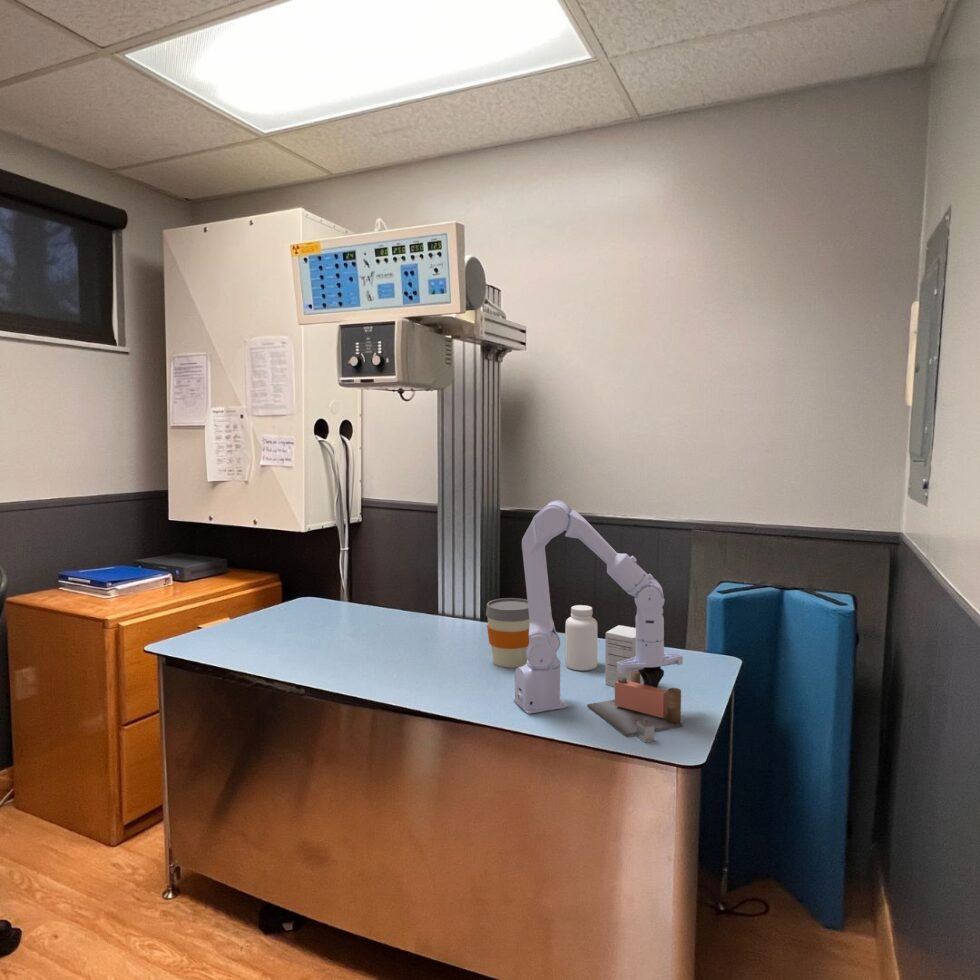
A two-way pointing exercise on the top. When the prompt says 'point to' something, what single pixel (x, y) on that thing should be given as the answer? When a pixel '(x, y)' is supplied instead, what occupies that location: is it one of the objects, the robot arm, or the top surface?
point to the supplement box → (619, 652)
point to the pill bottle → (581, 639)
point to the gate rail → (641, 697)
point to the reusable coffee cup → (508, 631)
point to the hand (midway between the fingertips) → (650, 701)
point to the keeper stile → (645, 731)
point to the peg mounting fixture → (639, 713)
